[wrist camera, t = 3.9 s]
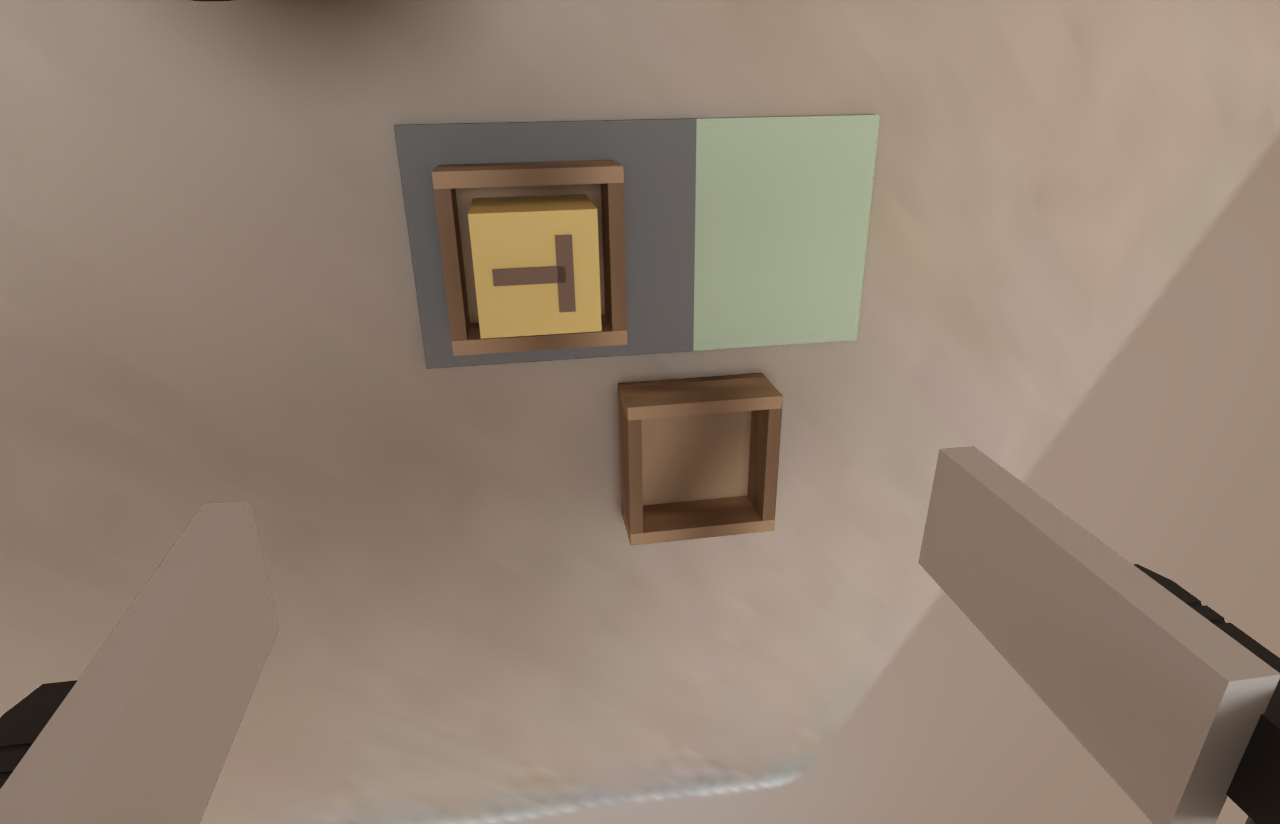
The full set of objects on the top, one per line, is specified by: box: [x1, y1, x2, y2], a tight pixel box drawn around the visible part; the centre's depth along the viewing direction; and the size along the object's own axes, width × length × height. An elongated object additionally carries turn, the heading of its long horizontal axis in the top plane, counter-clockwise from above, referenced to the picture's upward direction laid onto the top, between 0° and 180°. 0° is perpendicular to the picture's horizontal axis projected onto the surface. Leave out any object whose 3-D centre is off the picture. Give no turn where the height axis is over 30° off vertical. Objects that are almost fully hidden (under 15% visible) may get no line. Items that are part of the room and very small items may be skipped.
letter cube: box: [468, 194, 602, 339], centre depth 29 cm, size 4×4×5 cm
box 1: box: [432, 160, 627, 356], centre depth 30 cm, size 7×7×3 cm
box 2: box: [618, 373, 783, 545], centre depth 35 cm, size 7×7×3 cm
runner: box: [394, 115, 880, 369], centre depth 32 cm, size 20×10×1 cm, turn 91°
